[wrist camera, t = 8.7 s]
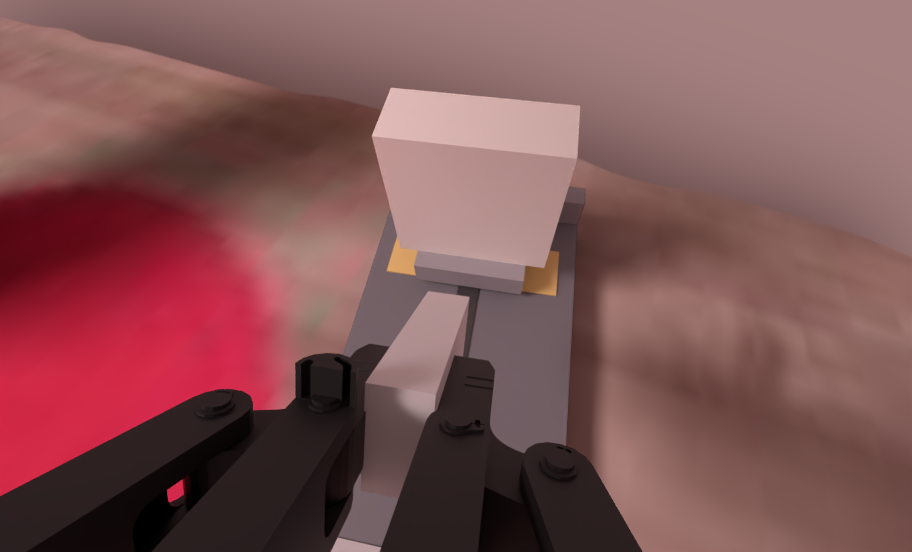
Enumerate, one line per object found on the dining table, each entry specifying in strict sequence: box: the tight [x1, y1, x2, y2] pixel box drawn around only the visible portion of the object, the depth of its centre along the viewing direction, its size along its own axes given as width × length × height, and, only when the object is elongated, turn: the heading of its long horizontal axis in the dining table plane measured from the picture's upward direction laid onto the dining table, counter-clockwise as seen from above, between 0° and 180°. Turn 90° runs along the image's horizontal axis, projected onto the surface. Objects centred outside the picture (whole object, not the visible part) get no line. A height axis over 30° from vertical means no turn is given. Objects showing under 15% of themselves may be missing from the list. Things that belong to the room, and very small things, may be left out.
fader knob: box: [372, 88, 580, 294], centre depth 21 cm, size 5×8×10 cm, turn 80°
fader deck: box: [331, 187, 585, 552], centre depth 21 cm, size 26×12×4 cm, turn 170°
